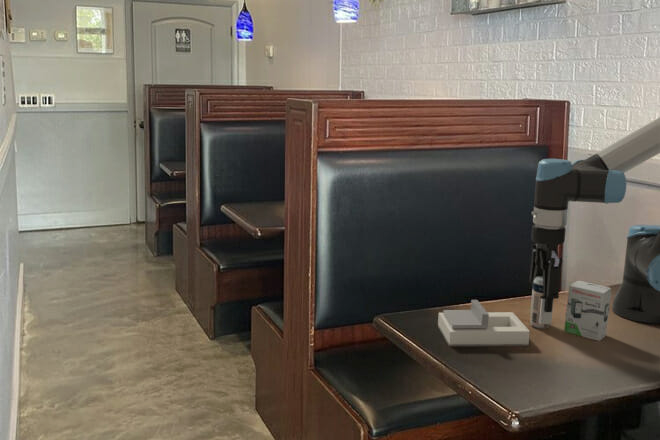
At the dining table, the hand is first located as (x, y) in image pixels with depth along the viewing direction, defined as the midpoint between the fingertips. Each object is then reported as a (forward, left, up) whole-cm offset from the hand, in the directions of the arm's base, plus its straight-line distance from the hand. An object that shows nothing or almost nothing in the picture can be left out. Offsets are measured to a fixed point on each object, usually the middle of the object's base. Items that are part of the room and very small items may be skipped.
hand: (540, 318), depth 166 cm
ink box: (-9, +5, -2) cm, 11 cm away
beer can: (0, 0, -2) cm, 2 cm away
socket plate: (+16, +6, -2) cm, 17 cm away
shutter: (+20, +6, +2) cm, 21 cm away
